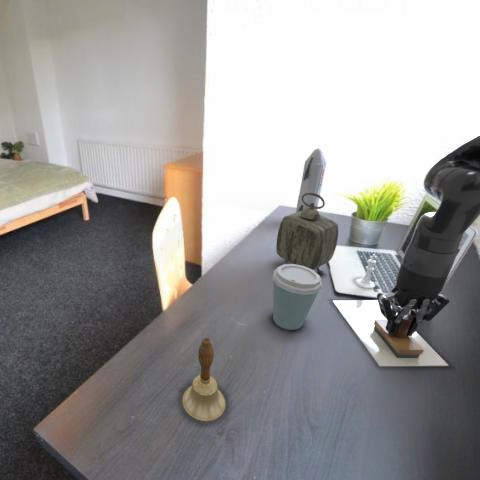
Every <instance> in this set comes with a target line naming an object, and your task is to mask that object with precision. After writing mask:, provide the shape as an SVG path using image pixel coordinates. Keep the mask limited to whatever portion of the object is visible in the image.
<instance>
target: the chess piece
mask: <svg viewBox="0 0 480 480" xmlns="http://www.w3.org/2000/svg"><path fill="white" fill-rule="evenodd" d="M375 259H378V257H377V256H376V254H375V253H373V254H372V255H371V256H369V259H367V264H368V265H366V266H365V269H366V272H365V274H364V275H363V277H362V278H357V279H356V280H355V283H356V284H357V285H358V286H359V287H361V288H365V289H375V287H376V284H375V283H374V281H373V280H371V277H372V276H371V275H372V272H373V271H375V268H374V266H375V265H376V264H377V260H375Z"/></svg>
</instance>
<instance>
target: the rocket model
mask: <svg viewBox="0 0 480 480" xmlns="http://www.w3.org/2000/svg"><path fill="white" fill-rule="evenodd" d="M326 168H327V162H326V158H325V155H324V153H323V150H322V149H320V148H315V149H313V151H312V152H311V154H310V155H309V156H308V158H306V160H305V161H304V166H303V171H302V176H301V182H300V188H299V193H298V198H297V204H296V210H295V213H296V212H298V211H303V210H304V209H306V208H310V207H308V206H306V205H305V204H304V203H303V202H302V196H303V195H304V194H305V193H315V194H318V195H320V196H321V192H322V188H323V181H324V177H325V172H326ZM303 200H304V201H305V202H306V203H307V204H309V205H310V203H314V206H316V207H319V202H320V198H318V197H316V196H313V195H306V196H304V198H303ZM316 210H317V211H318V209H316Z"/></svg>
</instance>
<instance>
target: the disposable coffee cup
mask: <svg viewBox="0 0 480 480" xmlns="http://www.w3.org/2000/svg"><path fill="white" fill-rule="evenodd" d="M272 280H273V296H272V297H273V298H272V299H273V300H272V301H273V303H272V304H273V305H272V307H273V308H272V320H273V321H274V323H275V324H276V325H277V326H278V327H280V328H281V329H283V330H288V331H294V330H295V331H296V330H299V329H300V328H301V327H303V325H304V323H305V320H306V318H307V316H308V314H309V312H310V310H311V308H312V307H313V304H314V302H315V300H316V298H317V296H318V294H319V292H320V291H321V290H323V282H322V278H321V275H318V274H317V272H316V271H315V269H314V270H312V269H310V268H307V267H305V266H301V265H296V264H293V263H284V264H282V265H279V266H278V267H276V268H275V269H274V271H273V273H272Z"/></svg>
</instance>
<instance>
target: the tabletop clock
mask: <svg viewBox="0 0 480 480" xmlns="http://www.w3.org/2000/svg"><path fill="white" fill-rule="evenodd" d="M306 195H313V196H316V197H318V198H319V200H320V201H321V202H322V205H320V206H318V207H316V206H314V203H310V205H309V204H307V203H306V202H305V201H304V200H303V198H304V196H306ZM302 202H303V203H304V204H305V205H306V206H308V207H310V208H306V209H304V210H303V211H298V212H296V211H295V212H293V213H291V214H287V215H284V216H283V218H282V219H281V221H280V225H279V227H278V231H277V236H276V245H275V246H276V247H275V248H276V255H278V256H279V257H280V258H281V259H283V260H285V261H287V262H288V263H289V264H296V265H301V266H305V267H307V268H310V269H312V270H314V271H315V270H317V272H316V273H317V274H318V275H319V276H323V275H324V271H323V270H321V269H320V267H322V266H324V265H326V264H328V263H329V262H330V261H331V260H332V258H333V256H334V254H335V252H336V248H337V246H338V245H337V244H338V241H339V240H338V238H339V224H338V223H337V222H336V221H335V220H333V219H332V218H329V217H327V216H324V215H322V214H320V212H319V210H321V209H322V208H324V207H325V205H326V202H325V200H324V198H323V197H322V196H321V194H320V195H318V194H315V193H305V194H304V195H303V196H302ZM316 209H317V210H316Z"/></svg>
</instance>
